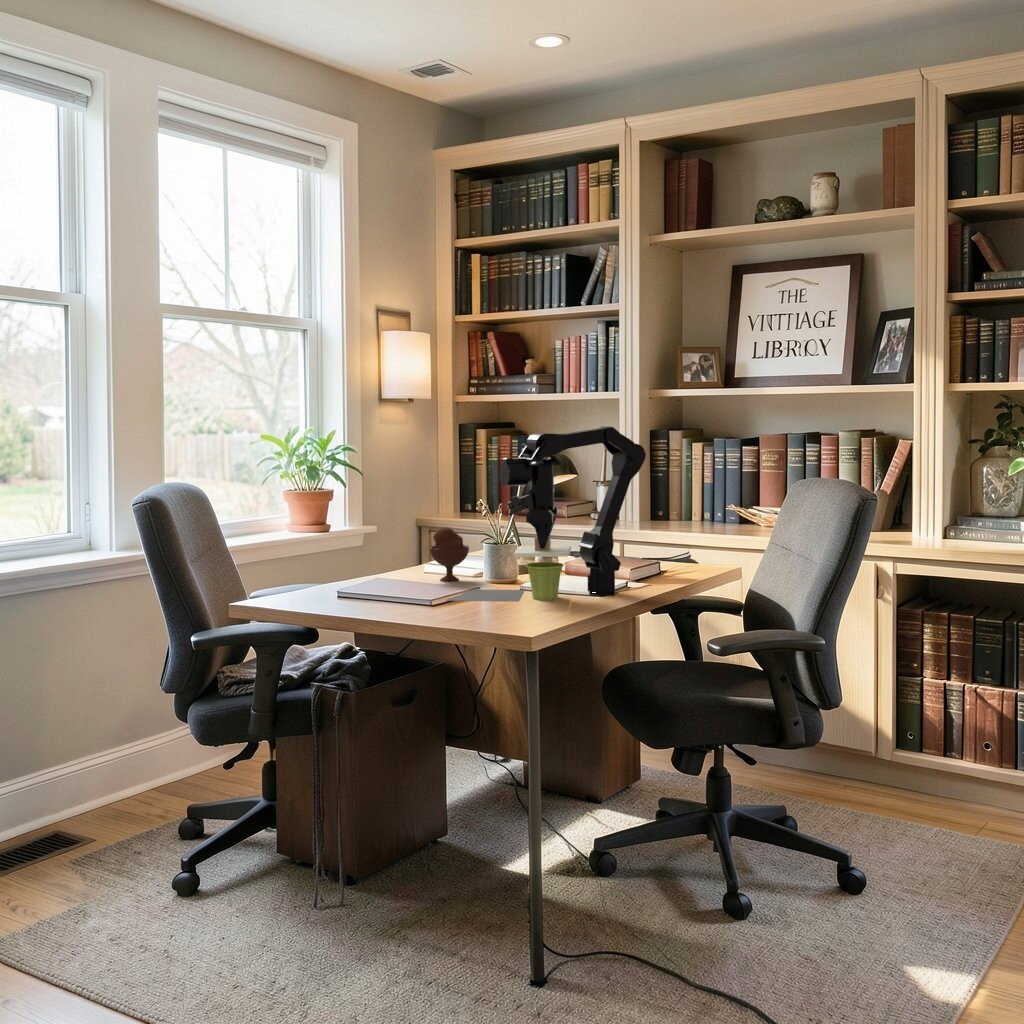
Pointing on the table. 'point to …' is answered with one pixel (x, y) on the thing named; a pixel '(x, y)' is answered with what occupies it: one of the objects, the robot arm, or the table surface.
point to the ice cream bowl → (448, 551)
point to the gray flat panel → (489, 595)
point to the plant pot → (544, 579)
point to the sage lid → (542, 550)
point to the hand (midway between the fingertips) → (543, 547)
